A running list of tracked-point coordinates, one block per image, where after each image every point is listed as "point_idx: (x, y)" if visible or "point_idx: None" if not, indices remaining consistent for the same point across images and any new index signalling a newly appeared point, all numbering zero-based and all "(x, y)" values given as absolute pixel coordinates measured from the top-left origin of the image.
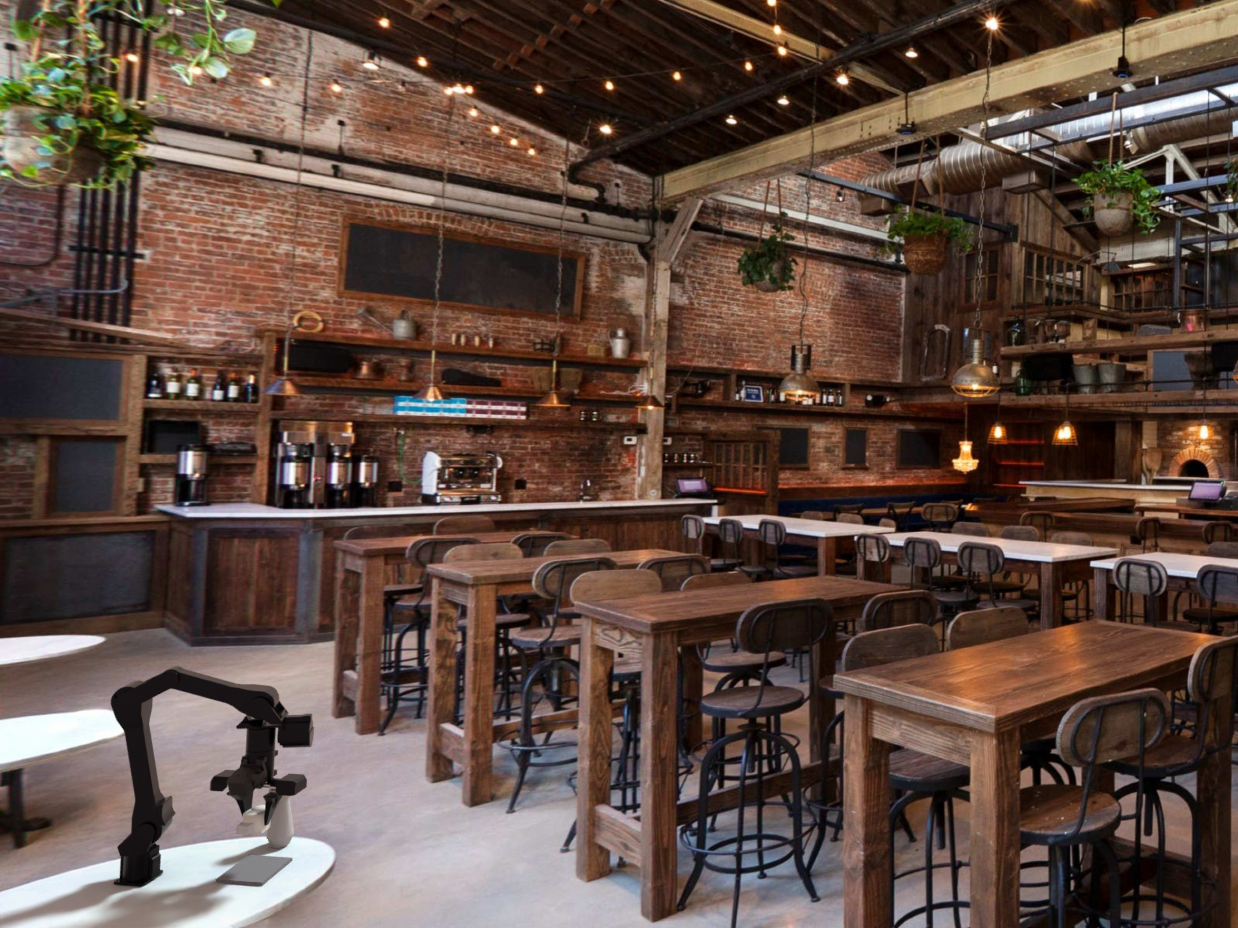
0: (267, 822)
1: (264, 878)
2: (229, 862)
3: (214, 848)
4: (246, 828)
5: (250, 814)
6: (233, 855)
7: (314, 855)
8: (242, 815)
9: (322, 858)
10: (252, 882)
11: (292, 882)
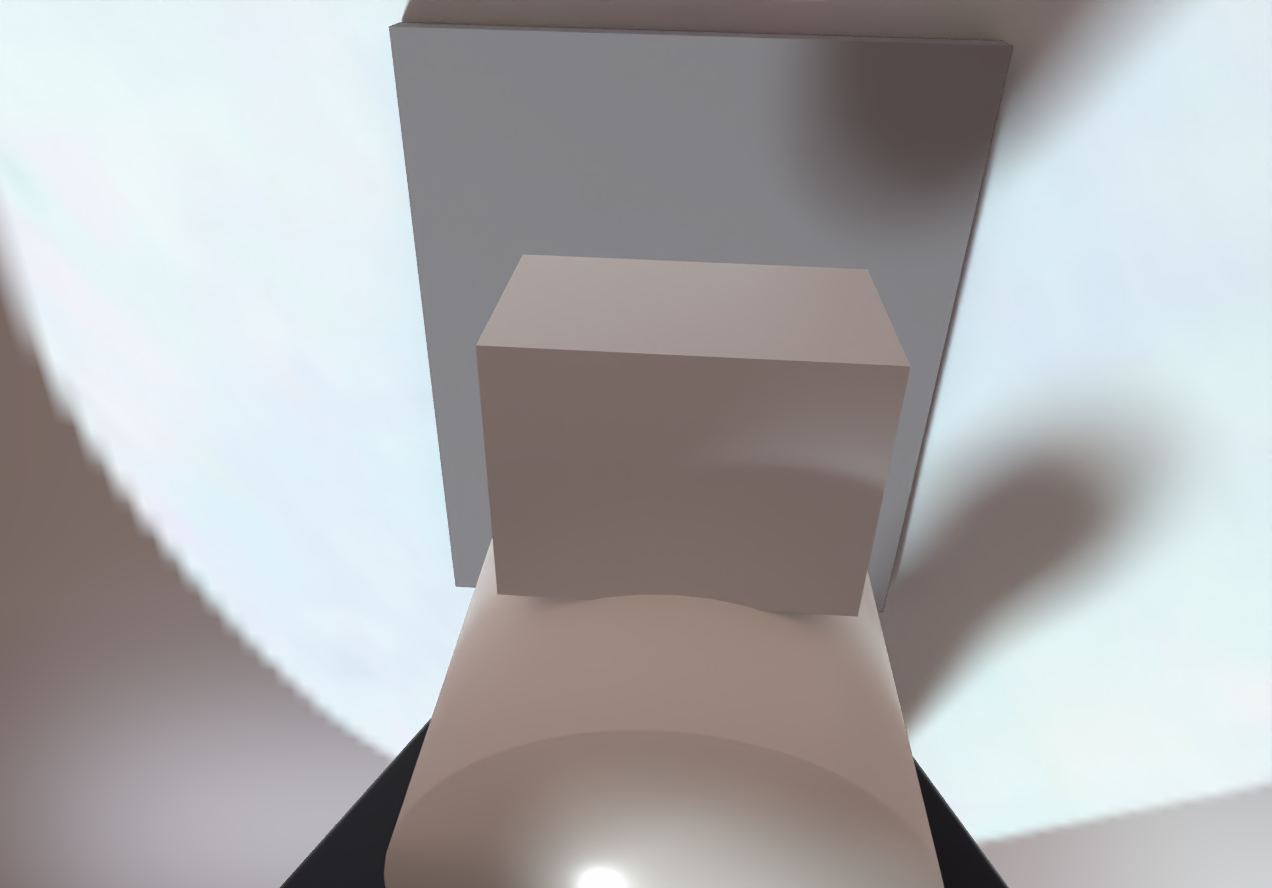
0: (419, 750)
1: (434, 139)
2: (1019, 495)
3: (1254, 711)
4: (551, 316)
5: (693, 853)
6: (1033, 615)
7: (344, 653)
8: (990, 879)
9: (245, 614)
10: (517, 28)
11: (138, 146)
